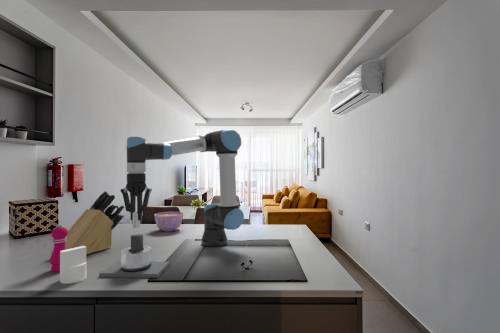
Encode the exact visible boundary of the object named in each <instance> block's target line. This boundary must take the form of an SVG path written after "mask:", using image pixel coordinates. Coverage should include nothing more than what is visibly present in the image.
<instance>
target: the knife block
mask: <svg viewBox="0 0 500 333" xmlns="http://www.w3.org/2000/svg"><path fill="white" fill-rule="evenodd" d="M115 198H116V196H115V195H113V194H109V192H107V190H105V191H104V192H102V193H101V194H100V195H99V196H98V197H97V199H96V200H95V201H94V202H93V204H92V205H91V206H90V207H89V208H86V209H85V210H84V211H83V213H82V214H81V215H80V216H79V218H78V219H77V220H76V221H75V222H74V224H72V226H71V227H70V229H68V235H67V236H66V238H67V239H66V240H67V241H66V242H65V246H66V250H67V249H71V248H75V247H80V246H86V256H87V255H90V254H92V253H96V252H100V251H103V250H108V248H109V249H110V248H112V235H113V234H112V232H113V230H114V229H115V228H116V226H118V224H119V223H120V222H121V221H122V219H124V216H125V215H122V214H121V212H122V211H123V209H125V205H121V206H118V205H114V204H112V202H113V201H114V200H115ZM115 209H116V210H115ZM53 250H54V248H53V249H52V250H51V251H50V254H51V255H52V253H53Z"/></svg>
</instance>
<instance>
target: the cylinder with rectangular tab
mask: <svg viewBox="0 0 500 333" xmlns="http://www.w3.org/2000/svg"><path fill="white" fill-rule="evenodd" d="M87 264H88V263H87V255H86V246H80V247H75V248H71V249H67V250H62V251H60V272H59V283H61V284H65V285H68V284H69V285H70V284H75V283H79V282H82V281H85V279H87V276H88V275H87V266H88V265H87Z"/></svg>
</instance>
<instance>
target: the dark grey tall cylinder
mask: <svg viewBox="0 0 500 333" xmlns="http://www.w3.org/2000/svg"><path fill="white" fill-rule="evenodd" d="M143 246H144V234H140V233H137V234H133V235H130V247H131V252H138V251H142V250H143Z"/></svg>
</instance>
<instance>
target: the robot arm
mask: <svg viewBox="0 0 500 333" xmlns="http://www.w3.org/2000/svg"><path fill="white" fill-rule="evenodd" d="M241 147H242V138H241V136H240V133H238V131H236V130H235V129H232V128H231V129H229V128H227V129H226V128H225V129H222V130H221V129H220V130H216V131H215V130H214V131H212V132H208V133H204V134H200V135H197V137H191V138H184V139H177V140H170V141H162V142H148V141H146V137H145V136H144V137H143V136H129V137H127V139H126V148H125V149H126V185H125V187H123V188H121V189H120V193H121V194H122V198H123V201H124V209H125V211H126V212H129V213H130V221H132V229H140V227H141V221H142V220H143V212H145V211H147V208H148V204H149V199H150V195H151V193H152V191H153V189H152V188H149V187H148V186H147V184H146V180H147V179H146V178H147V177H146V175H147V174H146V173H145V172H146V169H147V168H146V161H151V160H152V161H153V160H155V161H156V160H161V161H164V160H166V161H167V160H170V159H171V158H172V157H174V156H178V155H184V154H189V153H196V152H200V153H206V152H215V156H217V157H218V163H219V164H218V166H219V186H220V187H219V191H220V192H219V196H220V202H219V203H210V204H209V203H207V204H205V206H204V208H203V212H204V214H203V215H204V218H203V220H204V222H203V223H204V225H203V226H204V227H203V228H204V229H203V230H204V231H203V233H202V236H201V241H200V242H201V243H202V244H203V246H204V247H220V246H221V247H222V246H225V245H227V244H228V237H227V232H226V231H225V230H228V231H229V230H230V231H233V230H234V231H235V230H238V229H239V228H240V227H241V225H243V222H244V220H245V214H244V212H243V210H242V209H241V208H240V203H239V202H238V200H237V186H236V185H237V184H236V183H237V181H236V156H238V150H239V149H240V148H241ZM128 192H129V193H128ZM144 192H145V193H144ZM143 193H144V195H143ZM136 209H137V210H136ZM201 243H200V244H201ZM202 244H201V245H202Z"/></svg>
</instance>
